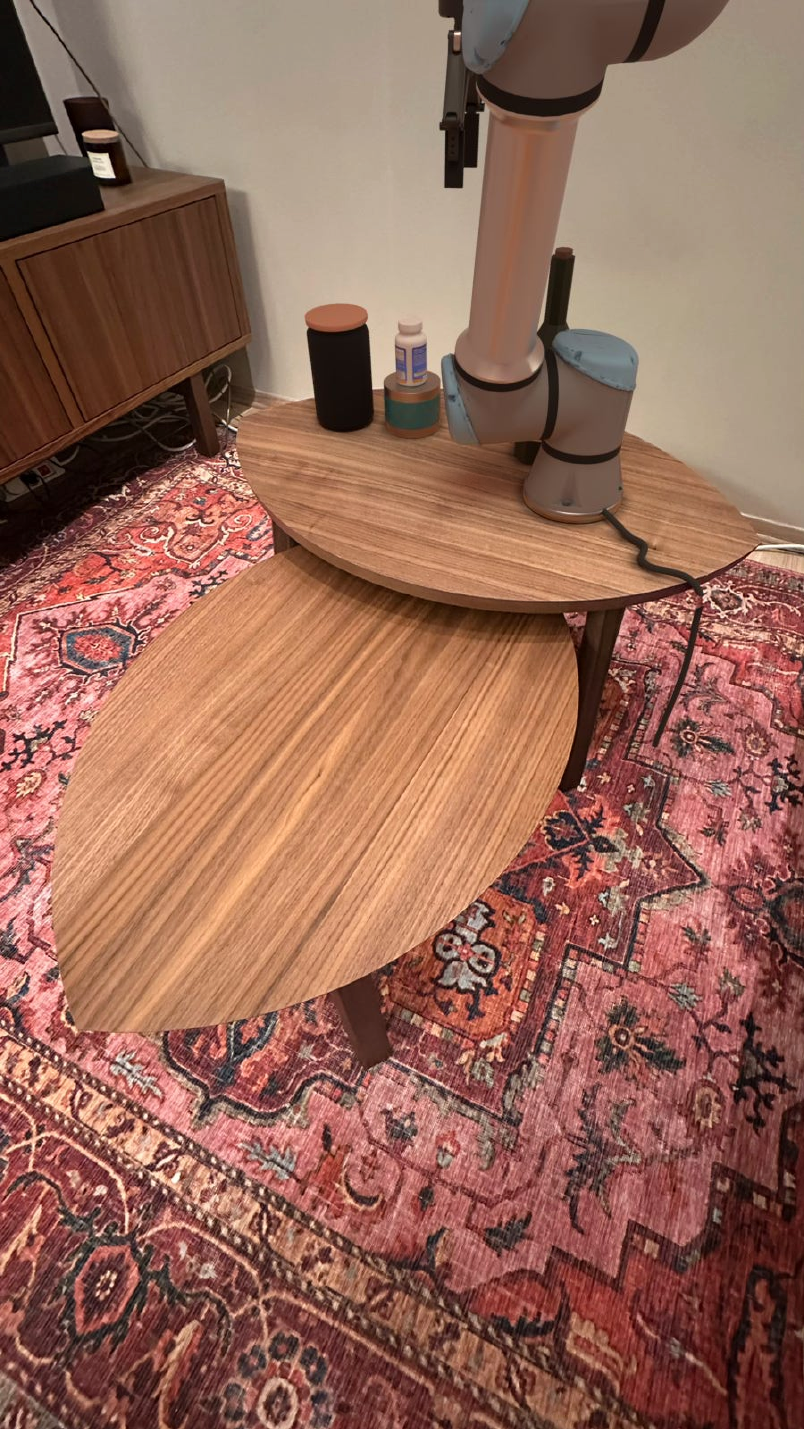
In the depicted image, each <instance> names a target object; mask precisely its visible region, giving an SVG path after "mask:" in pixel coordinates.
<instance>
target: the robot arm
mask: <svg viewBox="0 0 804 1429" xmlns="http://www.w3.org/2000/svg"><path fill="white" fill-rule="evenodd" d="M729 2H730V0H438V5H437V7H438V10H437V11H438V15H439V17H441V18H444V19H453V22H454V23H453V29H448V33H447V54H446V55H447V56H446V70H445V83H444V95H443V106H442V108H443V109H442V118H441V121H439V123H438V129H439V132H440V131H441V132H443V131H444V166H443V167H444V168H443V171H444V172H443V176H444V177H443V189H464V176H465V175H464V174H465V172H464V171H465V169H477V168H478V162H479V160H478V159H479V141H480V140H479V137H480V136H479V135H480V116H481V114H480V113H484V112H485V109H486V107H487V108H488V110H489V112H488V114H489V115H488V123H487V124H488V125H487V133H486V143H485V144H486V146H485V155H484V165H483V167H484V168H483V177H482V183H481V184H482V186H481V195H480V196H481V197H480V206H479V217H478V227H477V236H476V247H475V257H474V267H473V278H472V288H471V300H470V307H469V309H470V310H469V318H468V319H469V320H468V326H467V327H466V328H465V329H464V330H463V331H461V333H460V334H459V335H458V337H457V338H456V341H455V345H454V352H453V353H452V352H450V353H448V354H445V355H443V356H442V357H441V361H440V371H441V372H440V373H441V374H440V375H441V383H442V384H441V385H442V392H443V400H444V407H445V414H446V421H447V422H446V423H447V427H448V432H449V437H450V438H451V440H452V441H453V443H455V444H456V445H459V446H477V447H479V446H480V447H482V446H485V445H486V446H487V445H497V444H498V445H499V444H508V443H509V444H510V443H515V442H523V441H534V440H541V446H540V449H539V451H538V454H537V456H536V458H535V461H534V463H533V465H531V467H530V468H531V469H529V471H528V472H527V474H526V476H525V479H524V481H523V488H522V498H523V501H524V503H525V504H526V506H527V507H528V508H529V509H530V510H532V511H533V512H534V513H536V514H537V515H539V516H541V517H543V518H546V519H549V520H552V521H555V522H559V523H567V524H589V523H594V522H598V521H602V520H605V519H606V520H607V521H608V522H609V523H610V524H611V525H612V526H613V527H614V528H615V529H616V530H617V531H618V532H619V533H620V534H621V536H623V538H625V539H626V540H627V541H629V542H631V543H633V544H635V545H637V546H638V547H640V550H639V553H638V555H637V562H638V564H639V565H640V566H641V567H642V568H643V569H645V570H647V571H649V572H650V573H651V572H652V573H655V574H660V575H665V576H670V577H673V578H677V579H680V580H682V581H684V582H685V583H686V584H688V585H689V586H690V587H691V588H692V590H693V591H694V594H695V595H697V596H699V597H703V596H705V593H704V590H703V588H702V585H701V584H700V582H699V581H698V580H697V579H696V578H695V577H693V576H692V575H691V574H689V573H687V572H685V571H682V570H679V569H676V568H671V567H665V566H660V565H658V564H654V563H651V562H650V561H648V560H647V559H646V556H647V554H648V551H649V546H648V543H647V542H646V541H645V540H644V539H643V538H642V537H639V536H637V535H635V534H633V533H631V531H629V530H628V529H627V528H626V527H625V526H624V525H623V524H622V522H621V521H619V520H618V518H617V517H615V515H614V514H615V513H616V512H617V511H618V510H619V508H620V507H621V504H622V500H623V496H624V482H623V474H622V464H621V455H620V453H621V449H622V444H623V441H624V436H625V431H626V427H627V422H628V418H629V413H630V409H631V406H632V402H633V401H632V400H633V397H634V392H635V390H636V388H637V375H638V369H639V362H640V361H639V355H638V352H637V350H636V349H635V347H634V346H633V345H631V344H630V343H629V342H628V341H626V340H624V339H623V338H621V337H620V336H619V337H618V336H616V335H613V334H611V333H609V332H604V331H602V330H601V331H600V330H596V329H588V328H569V329H568V330H565V331H564V332H563V331H562V332H559V333H558V334H557V335H556V337H555V339H554V340H553V343H552V348H546V349H544V346H543V343H542V341H541V339H540V338H539V337H538V335H537V331H538V330H539V323H540V319H541V314H542V308H543V303H544V299H545V293H546V289H547V285H548V280H549V272H550V264H551V258H552V255H553V253H554V248H555V242H556V238H557V232H558V227H559V222H560V217H561V211H562V207H563V202H564V197H565V191H566V187H567V181H568V177H569V171H570V166H571V161H572V157H573V152H574V146H575V141H576V136H577V131H578V125H579V120H580V118H582V116H584V115H585V114H586V113H587V112H588V111H590V110H591V109H592V108H594V106H595V105H596V104H597V103H598V101H599V99H600V98H601V94H602V90H603V85H604V81H605V76H606V72H607V68H608V66H611V65H612V66H613V65H619V64H635V63H642V62H652V61H656V60H659V59H662V58H665V57H669V56H670V55H673V54H675V53H676V52H677V51H680V50H681V49H683V48H685V47H686V46H689V44H691V43H692V42H693V41H694V40H696V39H697V38H698V37H699V36H701V35H702V34H703V33H704V32H705V31H707V30H708V28H709V27H710V26H712V24H713V23H714V22H715V20H716V19H717V18H718V17H719V16H720V15H721V14H722V12H723V11H724V9H725V7H726V6H727V5H728V3H729ZM704 607H705V606H704V605H702V606H699V607H697V608H695V610H694V614H693V617H692V622H691V626H690V630H689V637H688V642H687V646H686V650H685V655H684V658H683V661H682V665H681V667H680V671H679V674H678V678H677V680H676V683H675V685H674V688H673V691H672V693H671V696H670V698H669V700H668V703H667V705H666V708H665V710H664V713H663V715H662V717H661V720H660V722H659V724H658V727H657V729H656V732H655V736H654V737H653V741H652V743H651V746H652V748H654V749H655V748H656V749H657V748H658V747H659V744H660V741H661V738H662V736H663V733H664V731H665V728H666V727H667V724H668V721H669V719H670V717H671V715H672V712H673V710H674V707H675V705H676V702H677V700H678V698H679V696H680V693H681V691H682V688H683V686H684V683H685V681H686V678H687V675H688V671H689V668H690V666H691V662H692V658H693V655H694V650H695V646H696V644H697V643H696V642H697V638H698V633H699V629H700V628H699V627H700V622H701V619H702V615H703V612H704V609H705V608H704Z"/></svg>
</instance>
